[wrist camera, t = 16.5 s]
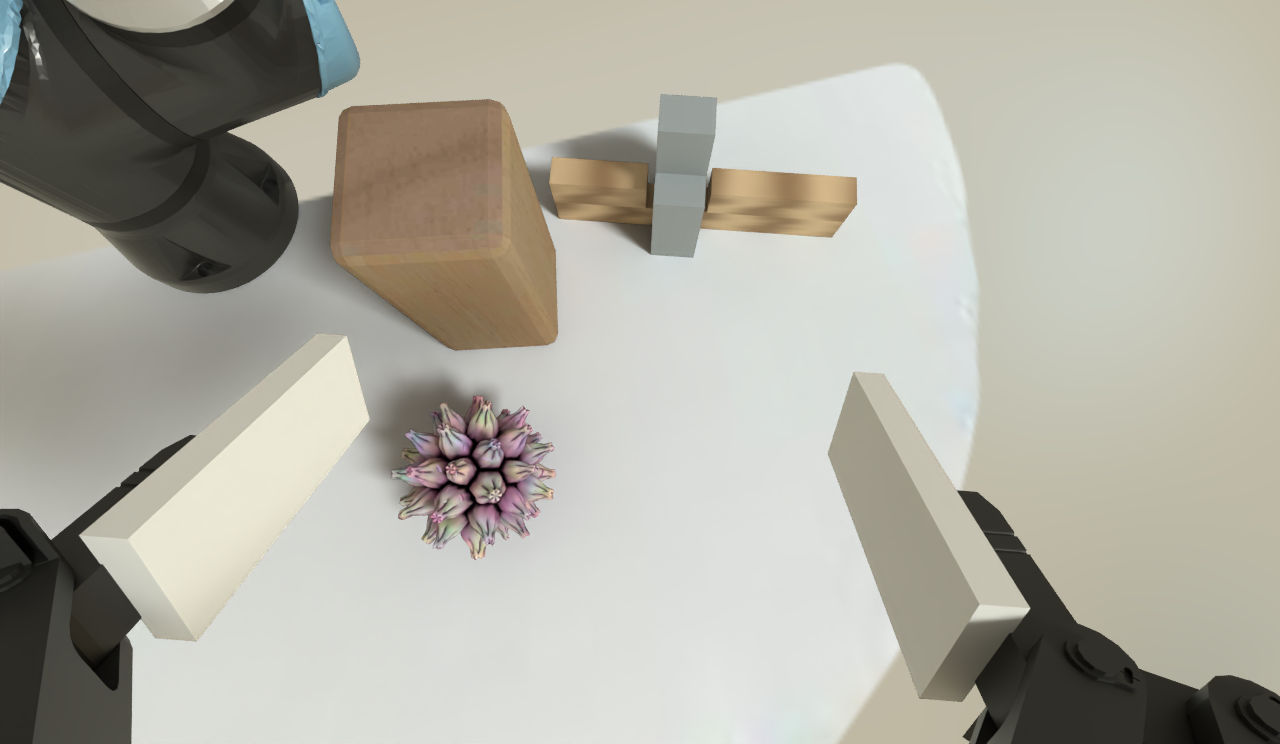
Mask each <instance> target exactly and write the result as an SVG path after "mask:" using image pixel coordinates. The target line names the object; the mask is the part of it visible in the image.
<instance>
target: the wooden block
mask: <svg viewBox="0 0 1280 744" xmlns="http://www.w3.org/2000/svg"><path fill="white" fill-rule="evenodd" d="M330 247H331V250H332V254H333V257H334V259H335V261H336V263H338V264H339V265H340V266H342V267H343V268H344V269H346V270H347V271H348V272H350V273H351V274H352V275H353V276H355V277H356V278H357V279H359V280H360V281H361V282H363V283H364V284H365V285H367V286H368V287H369V288H371V289H372V290H373V291H374V292H376V293H377V294H378V295H380V296H381V297H382V298H384V299H385V300H386V301H388V302H389V303H390V304H392V305H393V306H394V307H395V308H397V309H398V310H399V311H401V312H402V313H403V314H405V315H406V316H407V317H409V318H410V319H411V320H412V321H414V322H415V323H416V324H418V325H419V326H420V327H422V328H423V329H424V330H426V331H427V332H428V333H430V334H431V335H432V336H433V337H435V338H436V339H437V340H439V341H440V342H441V343H443V344H444V345H445V346H447V347H448V348H451V349H453V350H472V349H489V348H506V347H523V346H540V345H548V344H550V343H553V342H555V340H556V337H557V334H558V322H557V288H556V254H555V248H554V245H553V242H552V239H551V236H550V233H549V230H548V228H547V225H546V222H545V219H544V216H543V213H542V210H541V207H540V204H539V201H538V198H537V195H536V192H535V190H534V187H533V184H532V181H531V178H530V175H529V172H528V169H527V166H526V163H525V160H524V157H523V155H522V152H521V149H520V146H519V143H518V140H517V137H516V134H515V131H514V128H513V125H512V122H511V119H510V117H509V115H508V113H507V111H506V109H505V107H504V106H503V105H502V104H501V103H500V102H497V101H494V100H490V99H489V100H488V99H487V100H469V101H449V102H428V103H409V104H391V105H390V104H389V105H369V106H352V107H349V108H347V109H345V110H343V111H342V113H341V115H340V116H339V123H338V138H337V152H336V166H335V180H334V194H333V208H332V223H331V237H330Z"/></svg>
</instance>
